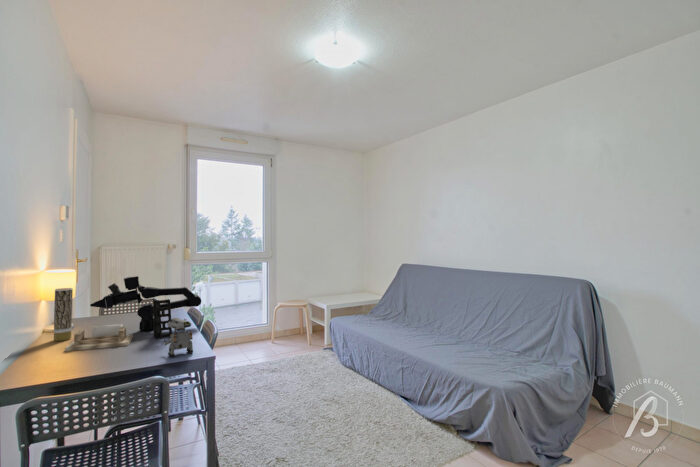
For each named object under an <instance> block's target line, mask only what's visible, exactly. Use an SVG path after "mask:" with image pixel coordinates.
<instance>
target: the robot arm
mask: <svg viewBox="0 0 700 467" xmlns="http://www.w3.org/2000/svg"><path fill="white" fill-rule="evenodd" d="M139 278H140V277H139V276H138V275H136V276H127V277H124V278H123V282H124V286H125V290H127V291H121V290H120V287H119V286H118V285H117V284H116V282H115V283H112V284H110V285H109V286H108V287H107V288H108V289H109V290H110V292H111V293H110V294H108V295H104V296H103V298H102V299H99V300H96V301H94V302H92V303H91V304H90V305H89V306H90V307H93V308H102V309H111V308H113V307H114V306H117V305H121V304H126V303H130V302H135V301H137V303H138V304H141V302H142V301H143V300H144V299H145V300H147V299H153V298H156V297H160V296H164V297H165V296H178V295H180V296H181V295H183V296H184V297H185V298H184V299H180V300H174V301H170V307H171V310H175V309H179V308H185V307H187V308H197V307H199V306H200V305H201V304H202V299H201V297H200V296H199V295H198V294H194V293H193V292H192V291H191V290H189V289H188V287H186V286H182V287H169V288H168V287H167V288H166V287H164V288H160V287H159V288H158V287H153V286H143V285H141V284H140V280H139ZM160 307H161V308H163V307H168V303H160ZM164 311H166V310H164ZM136 314H137V316H138V317H139V318H140V321H139V327H138V328H139V329H138V330H139V332H142V333H143V332H151V331H153V332H154V329H153V328H154V327H153V319H154V316H153V301H152V302H149V303H143V304H141V305H140V306H139V307H138V310H137V313H136Z"/></svg>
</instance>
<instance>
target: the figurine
mask: <svg viewBox="0 0 700 467" xmlns="http://www.w3.org/2000/svg"><path fill="white" fill-rule="evenodd" d="M166 325H167V327H171V328H172V329H173V330H174V332H173V333H172V334H171V335H170V337H169V338H170V339H168V340H167V341H166V340H165V338H163V342H164V346H168V345H169V347H168V353H167V355H168V357H169V356H170V358H171V357H173V358H174V357H175V356H176V355H175V350H176V351H177V350H182V349H186V352H187V351H188V352H187V353H188V354H190V353H191V354H193V352H194V348H193V341H192V340H193V331H192V330H191V329H187V331H186V328H191V326H192V323H191V322H190V321H188V320H187V318H184V319H181V318H178V317H173V318H171V320H170V321H169V322H168V323H166Z"/></svg>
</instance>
